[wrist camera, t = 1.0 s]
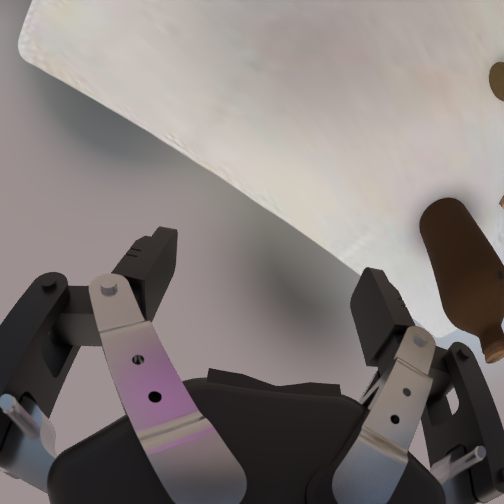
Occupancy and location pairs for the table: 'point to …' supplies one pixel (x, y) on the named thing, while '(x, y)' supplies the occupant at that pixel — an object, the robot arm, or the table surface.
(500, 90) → the cork
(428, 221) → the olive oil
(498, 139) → the table surface
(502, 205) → the socket board
